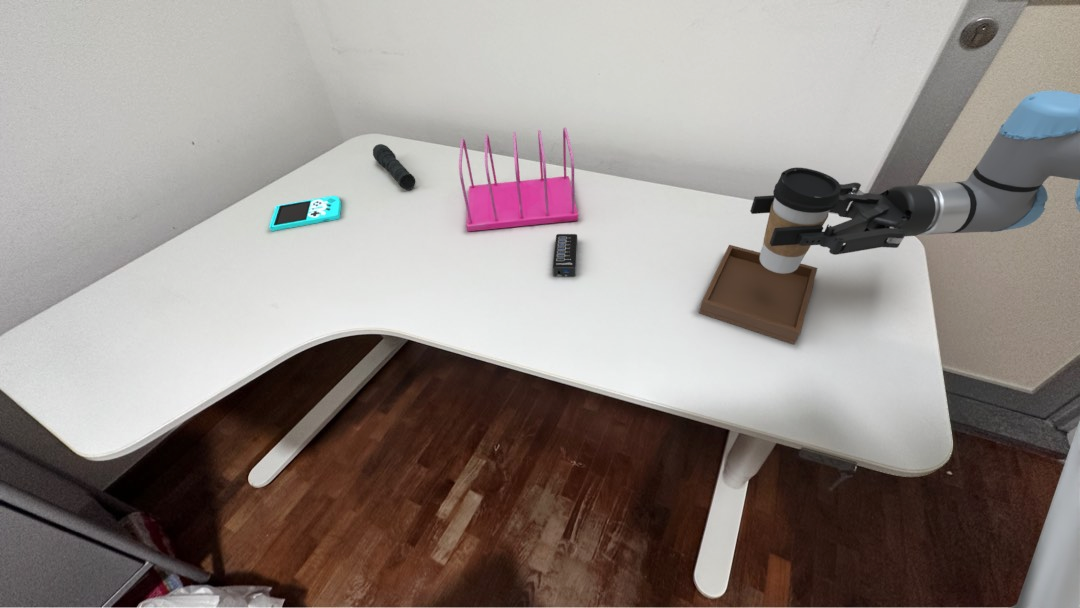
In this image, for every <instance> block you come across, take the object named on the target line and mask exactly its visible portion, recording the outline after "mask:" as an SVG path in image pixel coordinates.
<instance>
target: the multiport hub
mask: <svg viewBox="0 0 1080 608" xmlns="http://www.w3.org/2000/svg"><path fill="white" fill-rule="evenodd" d="M554 243H555V244H554V251H553V252H554V253H553V262H552V276H553V277H555V278H556V277H557V278H566V277H567V278H574V277H576V276H577V257H578V234H576V233H557V234H555V242H554Z"/></svg>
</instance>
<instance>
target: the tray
mask: <svg viewBox="0 0 1080 608" xmlns="http://www.w3.org/2000/svg"><path fill="white" fill-rule="evenodd" d="M760 253H761V252H760V251H756V250H751V249H747V248H744V247H739V246H736V245H732V244H728V246H727V248H726V250H725V253H724V254H723V256H722V258H721V260H720V263H719V265H718V267H717V269H716V271H715V273H714V275H713V278H712V280H711V281H710V283H709V285H708V288H707V289H706V291H705V294H704V296H703V297H702V300H701V303H700V305H699V311H698V314H700V315H704V316H706V317H709V318H712V319H715V320H718V321H721V322H725V323H727V324H730V325H733V326H736V327H739V328H743V329H745V330H748V331H752V332H754V333H757V334H760V335H762V336H763V335H764V336H766V337H770V338H773V339H776V340H778V341H782V342H784V343H787V344H791V345H795V344H796V342H797V340H798V338H799V336H800V334H801V333H802V332H801V331H802V328H803V325H804V321H805V316H806V313H807V309H808V306H809V302H810V298H811V295H812V290H813V286H814V282H815V279H816V276H817V271H818V267H816V266H812V265H809V264H805V263H802V262H801V263H800V265H799V267H798V268H797V269H796V270H795V271H794V272H791V273H785V274H784V273H776V272H773V271H770V270H768V269H766V268H765V267H764V266H763V265H762V264H761V262H760Z"/></svg>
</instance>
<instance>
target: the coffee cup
mask: <svg viewBox="0 0 1080 608" xmlns="http://www.w3.org/2000/svg"><path fill="white" fill-rule="evenodd" d="M840 184H841V183H840V182H839V181H838V180H837V179H835V177H833V176H831V175H829V174H827V173H824V172H821V171H819V170H815V169H811V168H807V167H790V168H787V169H785V170H784V171H782V172H781V173H780V176H779V178H778V180H777V182H776V184H775V185H774V188H773V191H772V192H773V193H772V194H773V195H774V197H775V198H774V201H773V202H772V205H771V209H770V213H768V220H767V223H766V228H765V231H764V236H763V242H762V246H761V250H760V252H759V253H760V262H761V264H762V265H763V266H764V267H765V268H766V269H768V270H770V271H773V272H776V273H784V274H785V273H791V272H794V271H795V270H796V269H797V268H798V267H799V265H800V263H801V264H802V261H803V260H804V258H805V256H806V255H807V253H808V251H809V249H810V248H811V246H812V245H809V246H808V245H807V246H801V245H799V244H797V245H781V246H771V245H770V240H771V237H772V235H773V232H774V229H775V228H781V227H797V226H815V225H822V227H824V224H826V221H827V220H828V218H829V213H830V212H829V211H830V210H831V209H833V208H834V207H835V206H836V205H837V202H838V201H839V195H840V190H841V186H840Z"/></svg>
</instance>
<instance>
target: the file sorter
mask: <svg viewBox="0 0 1080 608" xmlns="http://www.w3.org/2000/svg"><path fill="white" fill-rule="evenodd" d="M537 133H538V134H537V136H538V137H537V138H538V139H537V140H538V154H539V155H538V156H539V169H540V170H539V171H540V178H536V179H526V180H524V179H523V180H521V175H520V163H519V154H518V144H517V135H516V134H517V133H516V131H513V132H512V138H513V139H512V140H513V141H512V143H513V159H514V160H513V162H514V172H515V173H514V174H515V181H504V182H498V181H497V176H496V171H495V170H496V169H495V164H494V157H493V153H492V148H491V143H490V142H491V141H490V137H489V134H487V133H485V135H484V167H485V173H486V180H487V183H486V184H485V183H484V184H476V185H475V184H474V179H473V178H474V177H473V175H472V173H473V172H472V167H471V163H470V159H469V153H468V148H467V144H466V139H464V138H461V140H460V146H459V159H458V172H459V173H458V174H459V179H460V184H461V189H462V194H463V198H464V203H465V208H466V224H465V226H466V230H467V232H475V231H485V230H494V229H495V230H497V229H504V228H514V227H524V226H525V227H526V226H535V225H544V224H545V225H546V224H554V223H555V224H556V223H564V222H576V221H578V220H579V213H578V209H577V204H576V199H575V161H574V152H573V148H572V145H571V140H570V136H569V133H568V129H567V127H563V129H562V149H563V150H562V151H563V153H562V154H563V176H557V177H556V176H555V177H547V167H546V166H547V165H546V157H545V150H544V142H543V137H542V130H541V129H538V130H537ZM566 143H567V144H566ZM566 147H568V152H569V156H570V168H571V169H570V171H571V172H570V174H571V175H570V176H569V175H567V151H566V150H567V148H566ZM463 154H464V155H465V159H466V165H467V171H468V176H469V179H470V185H469V186H468V196H467V191H466V186H465V181H464V176H463V175H464V174H463V166H462V165H463ZM488 154H489V160H490V165H491V171H492V176H493V181H494V182H493V183H492V182H491V176H490V171H489V163H488V161H489V160H488ZM570 177H571V178H570ZM570 179H571V180H570Z"/></svg>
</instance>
